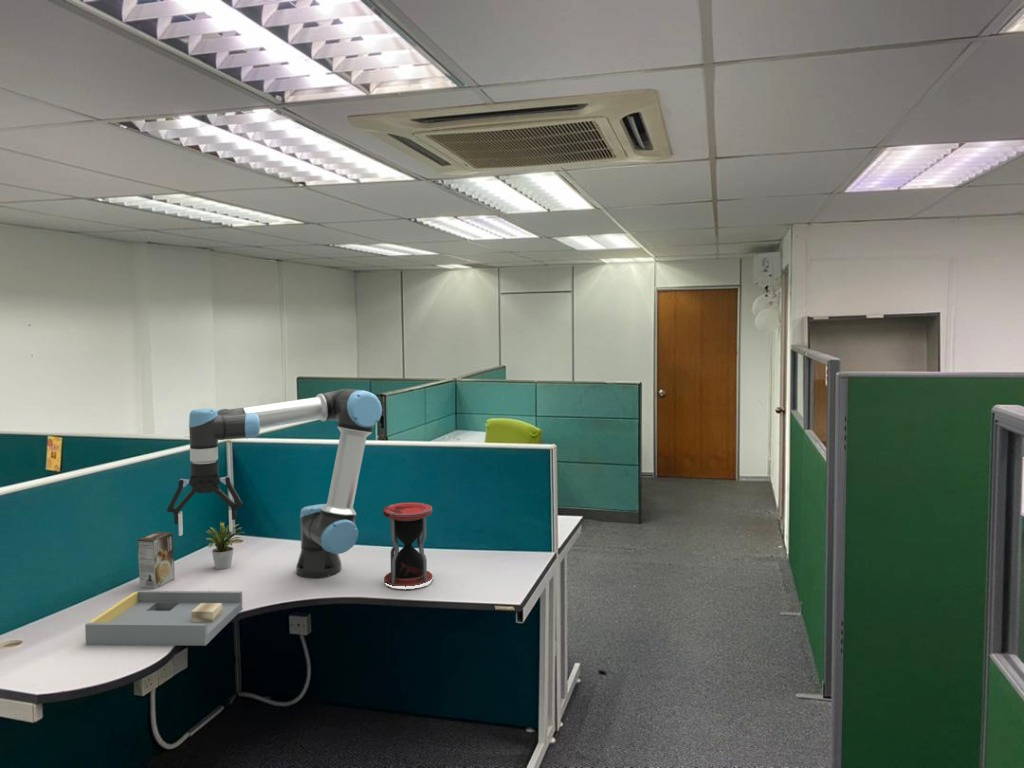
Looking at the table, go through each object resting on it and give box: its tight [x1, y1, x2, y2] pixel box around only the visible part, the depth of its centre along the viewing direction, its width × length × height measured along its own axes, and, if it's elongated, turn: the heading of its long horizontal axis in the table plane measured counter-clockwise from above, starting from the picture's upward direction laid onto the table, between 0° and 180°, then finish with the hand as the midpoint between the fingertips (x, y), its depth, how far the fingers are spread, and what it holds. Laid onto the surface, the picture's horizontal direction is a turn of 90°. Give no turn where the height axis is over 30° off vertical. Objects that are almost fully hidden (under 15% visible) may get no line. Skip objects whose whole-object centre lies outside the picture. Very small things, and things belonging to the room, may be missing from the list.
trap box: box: [84, 590, 243, 647], centre depth 194 cm, size 32×24×6 cm
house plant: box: [205, 521, 244, 570], centre depth 241 cm, size 14×14×16 cm
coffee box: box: [137, 531, 176, 589], centre depth 227 cm, size 9×6×16 cm
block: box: [191, 603, 222, 622], centre depth 193 cm, size 6×6×3 cm
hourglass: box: [382, 502, 434, 587], centre depth 228 cm, size 16×16×25 cm
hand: (206, 532), depth 203 cm, fingers open, 13 cm apart
